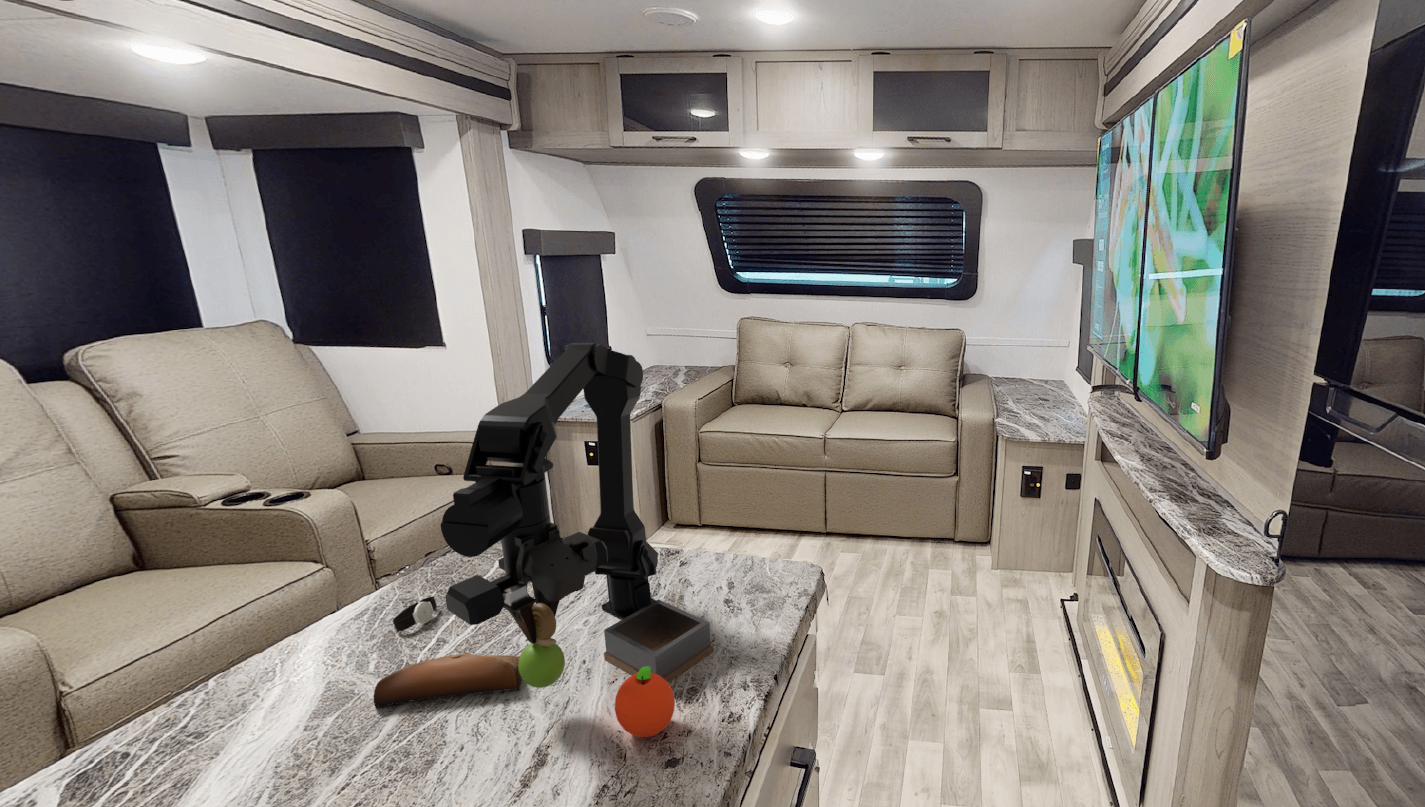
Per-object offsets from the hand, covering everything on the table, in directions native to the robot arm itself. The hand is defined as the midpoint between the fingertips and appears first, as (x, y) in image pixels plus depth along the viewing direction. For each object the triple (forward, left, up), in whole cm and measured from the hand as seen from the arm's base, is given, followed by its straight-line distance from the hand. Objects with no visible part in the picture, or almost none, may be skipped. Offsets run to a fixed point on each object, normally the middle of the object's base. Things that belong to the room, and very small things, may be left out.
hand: (539, 638), depth 83 cm
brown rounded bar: (-14, -5, -10) cm, 18 cm away
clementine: (+12, +5, -10) cm, 17 cm away
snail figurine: (0, -1, -6) cm, 6 cm away
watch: (-34, -1, -10) cm, 35 cm away
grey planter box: (+3, +16, -10) cm, 19 cm away
